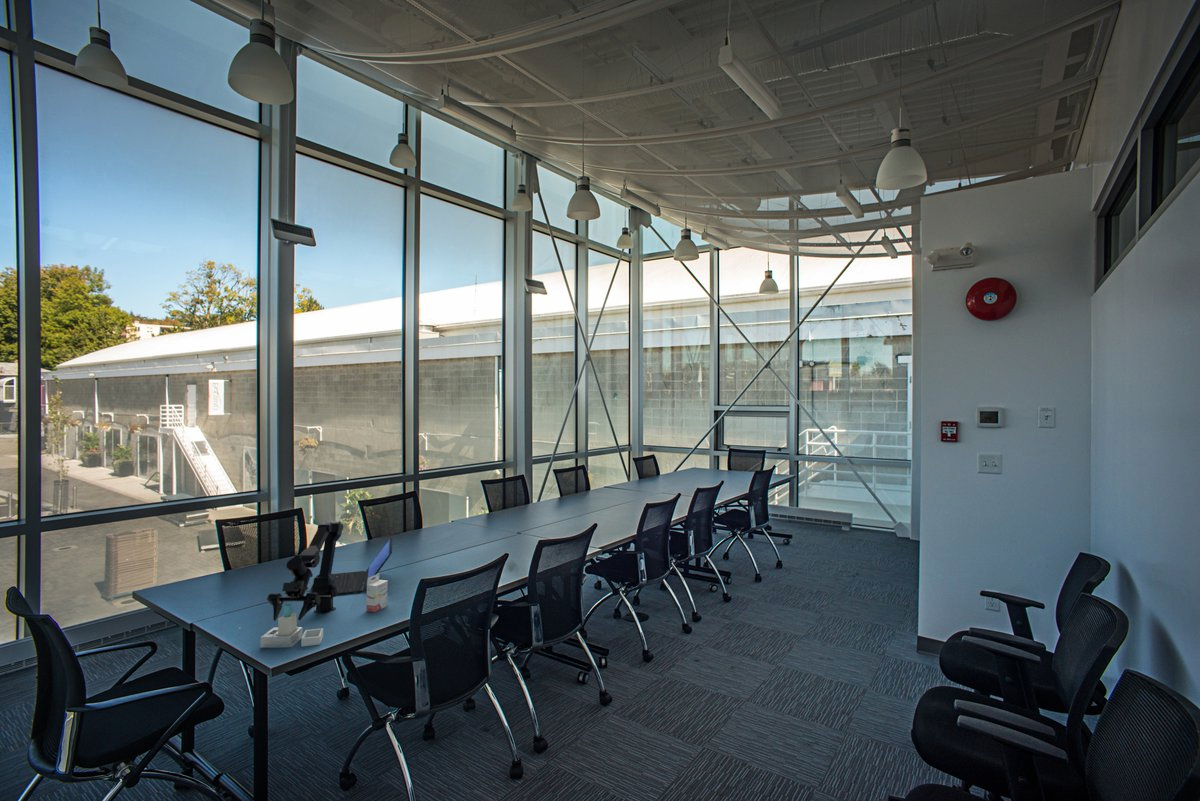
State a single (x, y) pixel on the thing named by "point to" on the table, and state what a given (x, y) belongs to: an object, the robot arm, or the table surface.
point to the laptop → (360, 574)
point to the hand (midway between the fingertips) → (286, 620)
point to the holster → (312, 637)
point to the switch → (280, 638)
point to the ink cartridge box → (376, 593)
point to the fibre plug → (287, 622)
